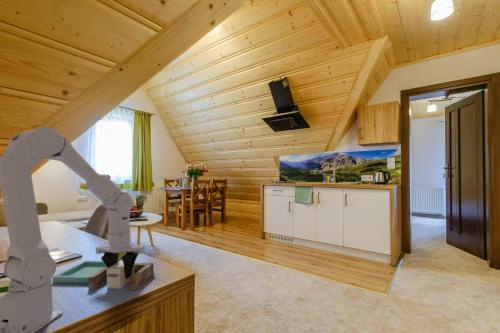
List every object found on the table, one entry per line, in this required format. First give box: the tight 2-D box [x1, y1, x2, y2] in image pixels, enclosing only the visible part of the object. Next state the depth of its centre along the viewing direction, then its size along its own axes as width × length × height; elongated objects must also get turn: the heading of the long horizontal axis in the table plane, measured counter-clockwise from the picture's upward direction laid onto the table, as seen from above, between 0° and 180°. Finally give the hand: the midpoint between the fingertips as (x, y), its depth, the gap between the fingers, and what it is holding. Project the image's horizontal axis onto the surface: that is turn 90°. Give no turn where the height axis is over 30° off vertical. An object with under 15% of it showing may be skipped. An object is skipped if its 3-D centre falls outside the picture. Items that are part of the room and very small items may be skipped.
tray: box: [51, 260, 119, 285], centre depth 82 cm, size 13×13×2 cm
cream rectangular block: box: [106, 260, 134, 289], centre depth 75 cm, size 8×4×6 cm, turn 173°
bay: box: [88, 262, 155, 291], centre depth 76 cm, size 10×14×4 cm
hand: (121, 277), depth 75 cm, fingers closed on cream rectangular block, 4 cm apart
